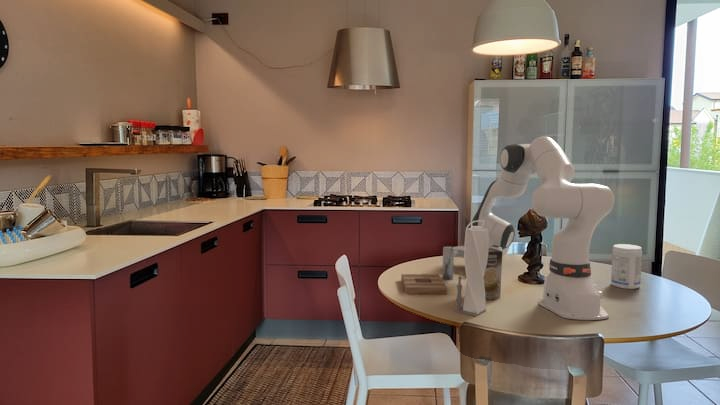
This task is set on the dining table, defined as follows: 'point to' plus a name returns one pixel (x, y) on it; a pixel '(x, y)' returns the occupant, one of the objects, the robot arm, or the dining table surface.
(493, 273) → the coffee box
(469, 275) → the skyscraper
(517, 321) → the dining table surface
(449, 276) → the steel pin
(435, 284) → the slot plate
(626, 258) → the supplement tub
